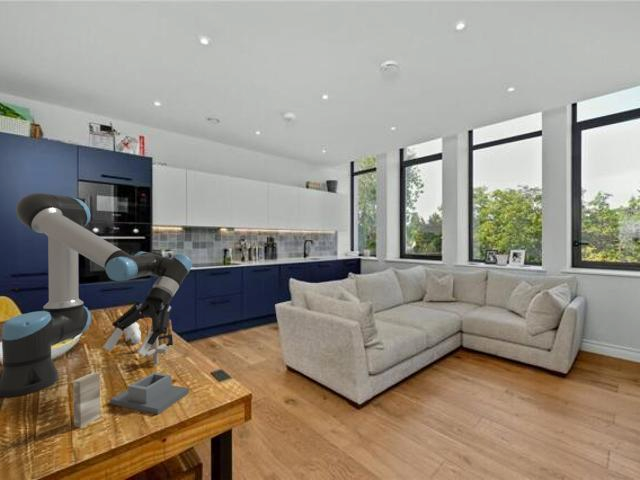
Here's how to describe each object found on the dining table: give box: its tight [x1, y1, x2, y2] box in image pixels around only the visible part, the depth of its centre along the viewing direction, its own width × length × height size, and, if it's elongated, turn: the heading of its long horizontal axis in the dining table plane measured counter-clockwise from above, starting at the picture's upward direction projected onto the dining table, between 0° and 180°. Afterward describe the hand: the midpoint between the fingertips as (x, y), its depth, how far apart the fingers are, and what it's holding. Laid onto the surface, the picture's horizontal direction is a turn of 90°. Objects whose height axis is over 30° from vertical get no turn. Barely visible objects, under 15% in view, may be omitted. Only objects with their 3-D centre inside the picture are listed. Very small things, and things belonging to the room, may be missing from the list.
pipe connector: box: [143, 338, 169, 365], centre depth 118 cm, size 10×10×10 cm
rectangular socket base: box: [109, 371, 190, 415], centre depth 93 cm, size 18×12×6 cm, turn 72°
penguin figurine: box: [123, 321, 142, 345], centre depth 142 cm, size 6×8×12 cm
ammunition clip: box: [145, 318, 174, 347], centre depth 134 cm, size 11×2×12 cm, turn 133°
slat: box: [72, 372, 101, 429], centre depth 81 cm, size 2×5×12 cm, turn 163°
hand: (123, 351), depth 91 cm, fingers open, 13 cm apart
